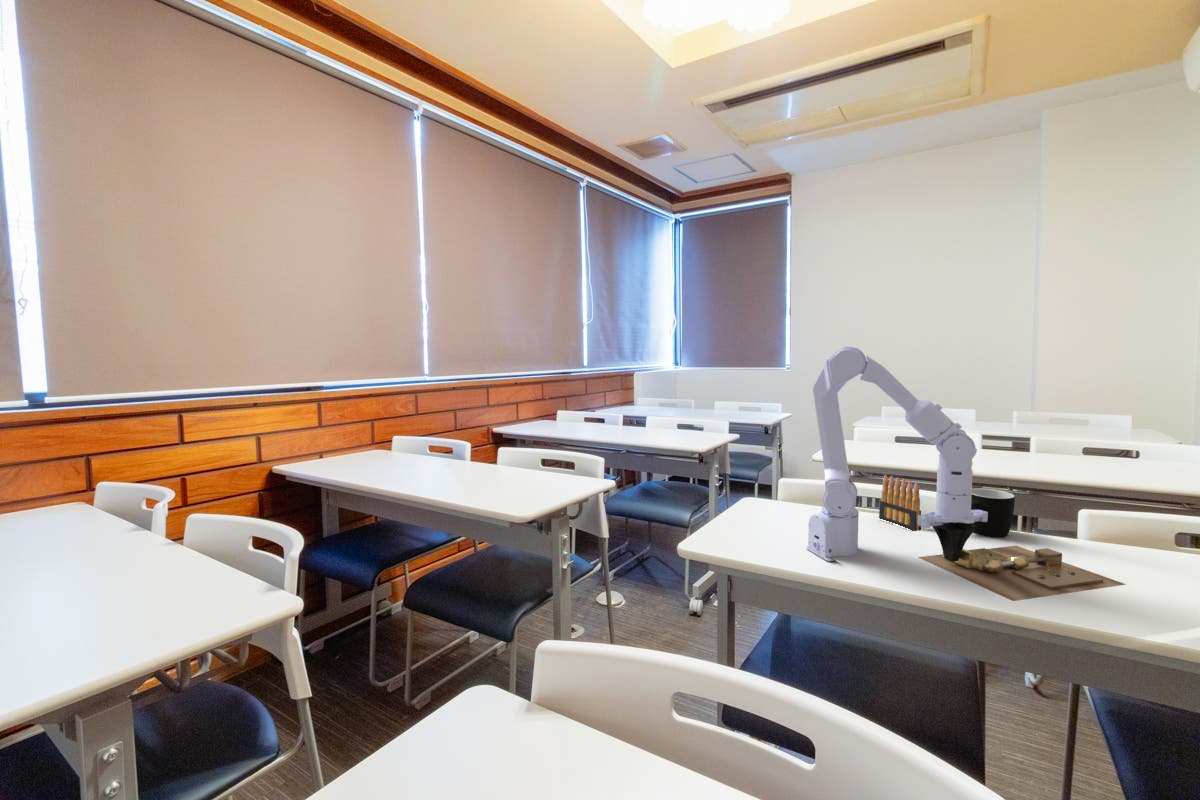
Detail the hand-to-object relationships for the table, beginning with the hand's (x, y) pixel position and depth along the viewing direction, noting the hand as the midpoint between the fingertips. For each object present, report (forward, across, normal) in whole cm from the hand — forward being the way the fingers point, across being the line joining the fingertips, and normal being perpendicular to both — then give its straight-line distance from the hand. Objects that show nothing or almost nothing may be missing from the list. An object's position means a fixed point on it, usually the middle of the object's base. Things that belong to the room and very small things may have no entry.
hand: (951, 559), depth 105 cm
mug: (+2, +22, +13) cm, 26 cm away
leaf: (+1, +9, -1) cm, 9 cm away
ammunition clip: (+2, +10, +25) cm, 27 cm away
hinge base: (+1, +13, -8) cm, 16 cm away
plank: (+2, +10, -5) cm, 11 cm away
